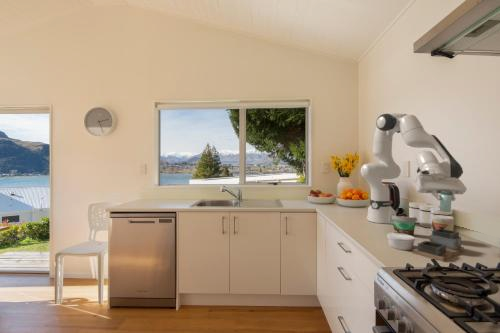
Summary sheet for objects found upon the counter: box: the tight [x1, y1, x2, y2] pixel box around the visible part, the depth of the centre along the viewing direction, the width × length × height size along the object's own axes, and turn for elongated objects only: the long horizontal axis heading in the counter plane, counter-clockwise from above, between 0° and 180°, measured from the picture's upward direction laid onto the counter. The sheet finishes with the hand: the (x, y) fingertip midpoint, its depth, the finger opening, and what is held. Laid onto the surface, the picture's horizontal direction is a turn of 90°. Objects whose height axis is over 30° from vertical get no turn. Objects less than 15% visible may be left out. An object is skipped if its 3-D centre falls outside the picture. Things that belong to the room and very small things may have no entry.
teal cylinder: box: [439, 191, 452, 213], centre depth 115 cm, size 4×4×9 cm
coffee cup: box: [430, 214, 455, 232], centre depth 129 cm, size 9×9×12 cm
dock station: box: [412, 229, 465, 262], centre depth 112 cm, size 23×11×8 cm, turn 123°
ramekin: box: [386, 232, 416, 251], centre depth 118 cm, size 11×11×5 cm
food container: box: [392, 215, 418, 237], centre depth 138 cm, size 12×6×10 cm, turn 71°
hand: (446, 199), depth 115 cm, fingers closed on teal cylinder, 4 cm apart
